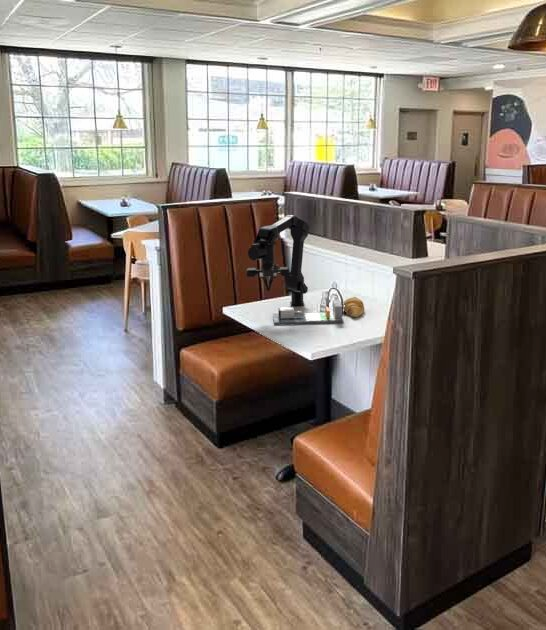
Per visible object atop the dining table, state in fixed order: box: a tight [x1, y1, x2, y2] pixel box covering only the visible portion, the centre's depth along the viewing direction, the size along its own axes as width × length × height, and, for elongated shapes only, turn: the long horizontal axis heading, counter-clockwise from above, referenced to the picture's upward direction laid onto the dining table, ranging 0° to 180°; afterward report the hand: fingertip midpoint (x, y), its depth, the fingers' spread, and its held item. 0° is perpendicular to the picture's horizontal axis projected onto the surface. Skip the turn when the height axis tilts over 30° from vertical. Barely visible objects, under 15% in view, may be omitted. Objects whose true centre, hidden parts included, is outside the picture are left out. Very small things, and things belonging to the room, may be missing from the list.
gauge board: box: [272, 299, 345, 326], centre depth 276 cm, size 13×30×7 cm, turn 92°
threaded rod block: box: [278, 306, 304, 318], centre depth 276 cm, size 4×11×4 cm, turn 92°
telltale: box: [324, 306, 331, 318], centre depth 277 cm, size 7×1×3 cm, turn 2°
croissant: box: [342, 296, 365, 318], centre depth 286 cm, size 21×10×8 cm, turn 179°
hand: (268, 290), depth 279 cm, fingers closed
